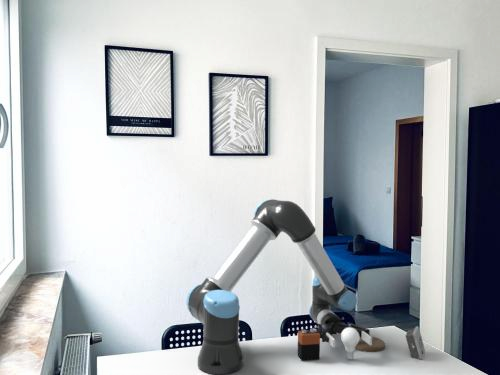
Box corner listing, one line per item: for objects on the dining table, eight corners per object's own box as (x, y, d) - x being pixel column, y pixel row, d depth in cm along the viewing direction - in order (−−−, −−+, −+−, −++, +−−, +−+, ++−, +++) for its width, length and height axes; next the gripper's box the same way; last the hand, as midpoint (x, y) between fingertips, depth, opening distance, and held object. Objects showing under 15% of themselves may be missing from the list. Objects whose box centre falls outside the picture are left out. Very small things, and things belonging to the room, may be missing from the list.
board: (336, 342, 163) (336, 339, 163) (361, 334, 172) (361, 331, 172) (368, 355, 151) (368, 352, 151) (393, 346, 160) (393, 343, 160)
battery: (320, 360, 146) (320, 331, 146) (301, 361, 145) (301, 332, 145) (315, 355, 151) (316, 326, 151) (297, 356, 149) (297, 328, 149)
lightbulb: (359, 364, 144) (360, 331, 144) (340, 362, 145) (341, 330, 145) (358, 356, 150) (359, 325, 150) (340, 354, 151) (340, 324, 151)
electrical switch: (422, 361, 147) (420, 334, 148) (406, 359, 150) (404, 332, 150) (425, 351, 156) (423, 326, 156) (410, 350, 158) (408, 325, 158)
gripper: (359, 330, 169) (385, 351, 149) (298, 333, 165) (317, 355, 144) (359, 311, 169) (386, 329, 148) (299, 314, 165) (318, 333, 144)
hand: (352, 342), depth 146 cm, fingers open, 13 cm apart
